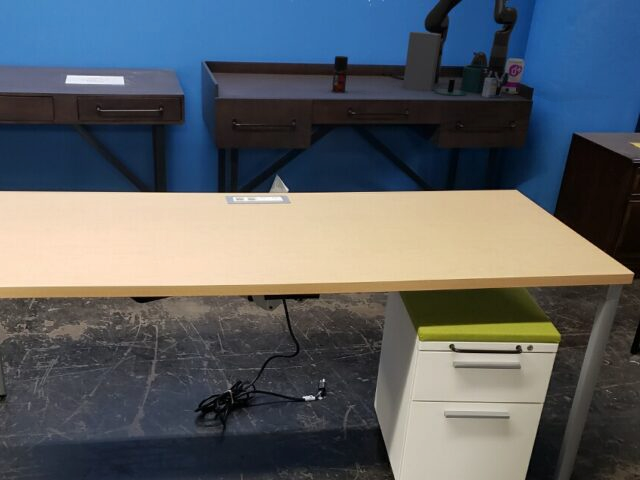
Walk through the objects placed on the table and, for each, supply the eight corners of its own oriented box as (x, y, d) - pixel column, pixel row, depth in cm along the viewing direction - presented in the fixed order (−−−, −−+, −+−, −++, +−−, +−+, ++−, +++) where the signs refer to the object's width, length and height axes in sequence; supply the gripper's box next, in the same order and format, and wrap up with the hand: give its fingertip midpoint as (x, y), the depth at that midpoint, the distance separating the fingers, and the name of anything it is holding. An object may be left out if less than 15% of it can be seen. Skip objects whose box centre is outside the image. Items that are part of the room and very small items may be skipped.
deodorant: (346, 91, 364) (349, 56, 356) (343, 93, 359) (346, 58, 351) (333, 89, 366) (336, 55, 358) (330, 92, 361) (333, 57, 353)
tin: (454, 90, 375) (458, 66, 369) (470, 87, 383) (474, 64, 378) (479, 95, 367) (483, 70, 361) (494, 92, 375) (499, 67, 370)
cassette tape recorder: (434, 90, 374) (442, 33, 361) (430, 92, 369) (438, 35, 356) (406, 87, 379) (413, 31, 366) (402, 88, 374) (409, 32, 362)
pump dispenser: (477, 81, 399) (482, 50, 391) (490, 85, 391) (496, 52, 383) (461, 82, 395) (466, 50, 388) (474, 86, 387) (479, 53, 380)
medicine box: (487, 98, 360) (491, 79, 355) (481, 97, 363) (484, 77, 358) (500, 97, 363) (504, 78, 358) (494, 96, 366) (497, 76, 362)
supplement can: (519, 94, 371) (525, 61, 363) (501, 93, 372) (507, 60, 365) (517, 91, 378) (524, 58, 370) (500, 90, 379) (506, 57, 372)
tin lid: (428, 93, 366) (430, 78, 363) (445, 90, 375) (447, 75, 372) (454, 98, 357) (457, 83, 354) (471, 95, 366) (474, 80, 363)
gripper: (517, 56, 352) (509, 95, 360) (489, 52, 360) (482, 91, 369) (508, 58, 347) (501, 97, 356) (480, 53, 355) (473, 92, 364)
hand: (491, 94), depth 362 cm, fingers closed on medicine box, 5 cm apart
